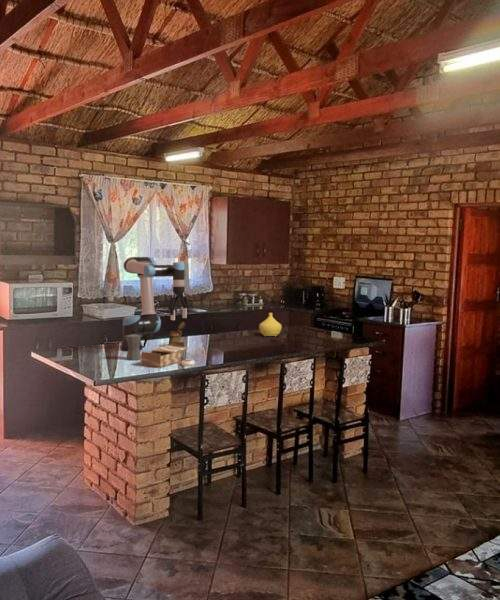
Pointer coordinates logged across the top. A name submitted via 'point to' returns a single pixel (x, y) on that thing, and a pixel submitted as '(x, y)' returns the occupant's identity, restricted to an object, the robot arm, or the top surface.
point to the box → (159, 358)
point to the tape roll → (187, 362)
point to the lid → (172, 347)
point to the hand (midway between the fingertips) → (178, 319)
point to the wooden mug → (176, 334)
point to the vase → (270, 326)
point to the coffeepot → (134, 345)
